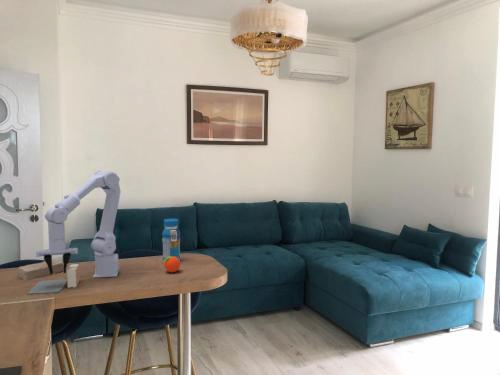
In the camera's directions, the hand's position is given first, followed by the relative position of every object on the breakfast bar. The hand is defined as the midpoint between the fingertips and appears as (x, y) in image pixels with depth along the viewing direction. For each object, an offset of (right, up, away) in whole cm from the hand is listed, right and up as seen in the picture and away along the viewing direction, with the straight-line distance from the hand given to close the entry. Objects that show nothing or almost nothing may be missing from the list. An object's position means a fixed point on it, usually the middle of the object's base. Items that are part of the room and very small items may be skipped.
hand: (58, 273), depth 162 cm
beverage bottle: (+37, -2, +39) cm, 53 cm away
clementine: (+40, -4, +20) cm, 45 cm away
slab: (+5, -5, +3) cm, 8 cm away
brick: (-15, -4, +17) cm, 23 cm away
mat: (-3, -5, 0) cm, 6 cm away
